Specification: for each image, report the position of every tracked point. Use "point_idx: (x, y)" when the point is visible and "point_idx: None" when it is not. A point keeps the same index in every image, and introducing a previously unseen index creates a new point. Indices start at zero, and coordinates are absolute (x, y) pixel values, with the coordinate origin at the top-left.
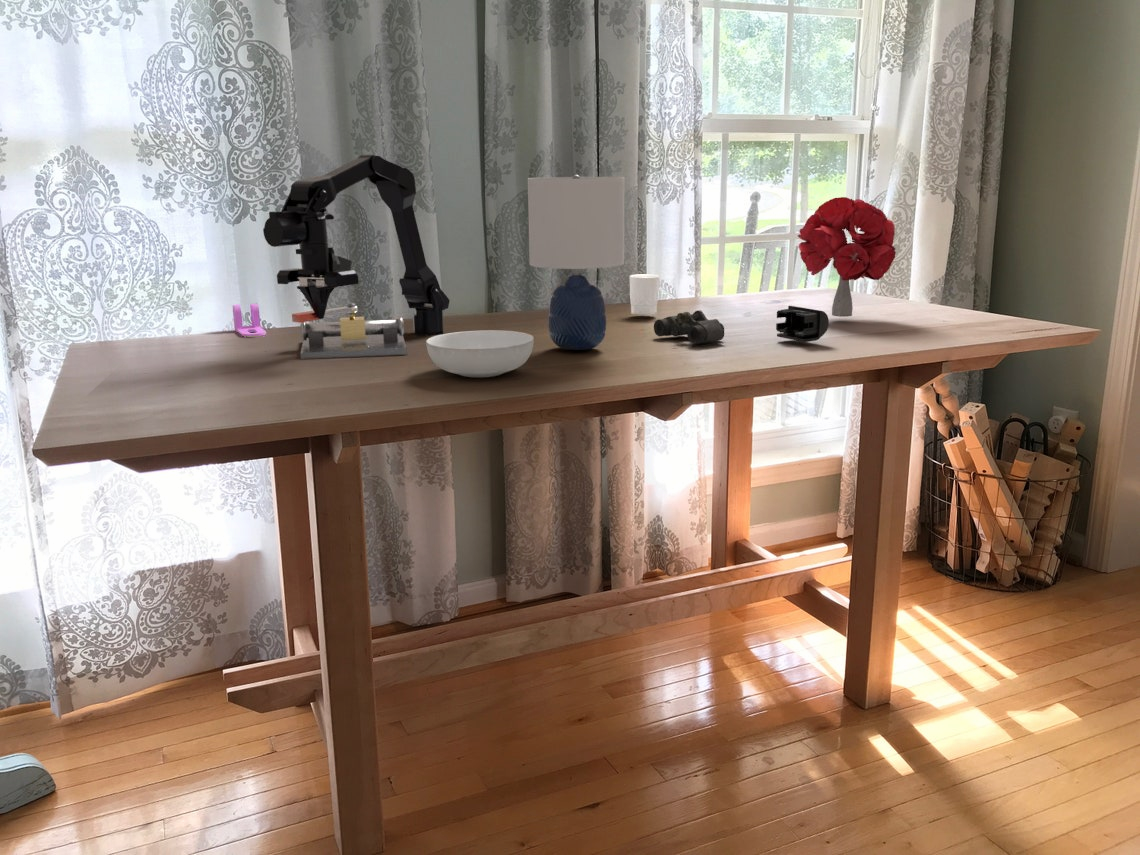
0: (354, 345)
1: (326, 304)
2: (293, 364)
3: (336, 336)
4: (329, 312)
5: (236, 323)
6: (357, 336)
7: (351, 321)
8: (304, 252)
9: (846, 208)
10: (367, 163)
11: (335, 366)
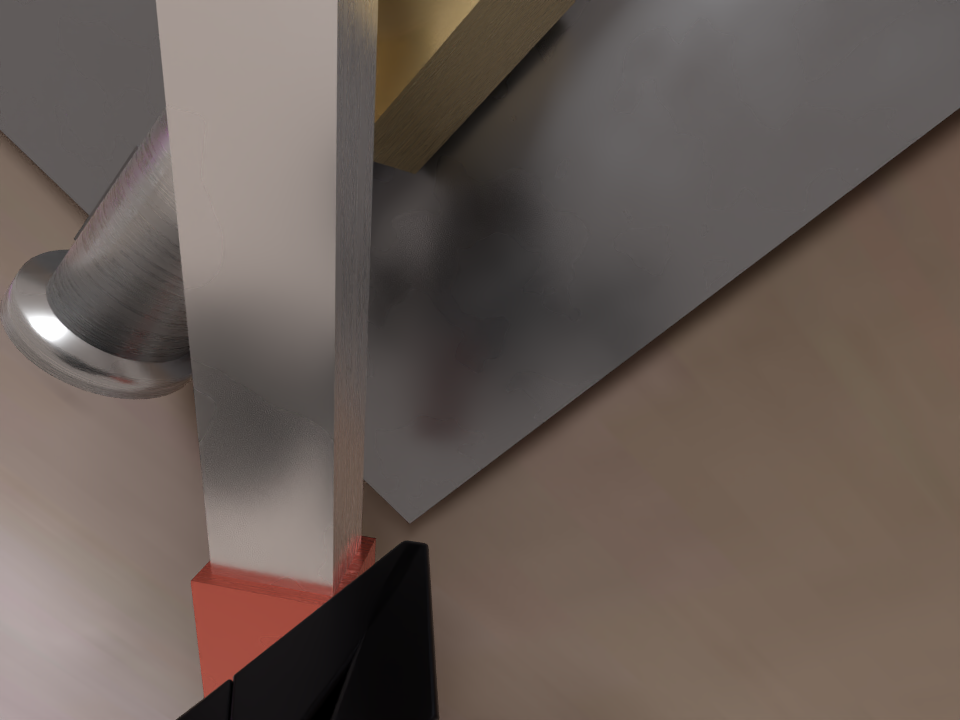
0: (546, 159)
1: (436, 701)
2: (465, 582)
3: None
4: (346, 410)
5: None
6: (515, 54)
7: (454, 39)
8: None
9: None
10: None
11: (713, 550)
